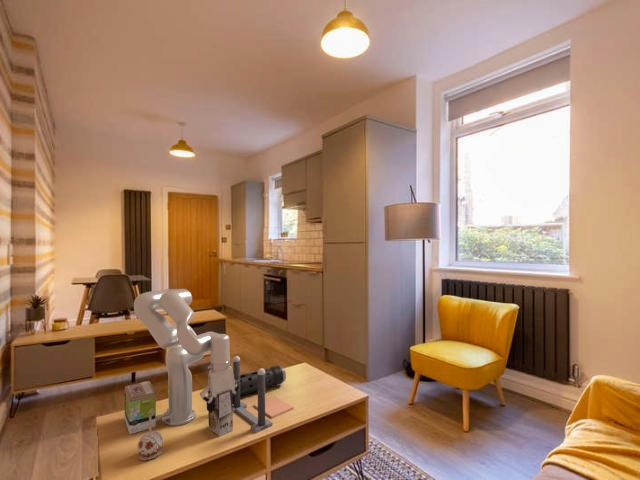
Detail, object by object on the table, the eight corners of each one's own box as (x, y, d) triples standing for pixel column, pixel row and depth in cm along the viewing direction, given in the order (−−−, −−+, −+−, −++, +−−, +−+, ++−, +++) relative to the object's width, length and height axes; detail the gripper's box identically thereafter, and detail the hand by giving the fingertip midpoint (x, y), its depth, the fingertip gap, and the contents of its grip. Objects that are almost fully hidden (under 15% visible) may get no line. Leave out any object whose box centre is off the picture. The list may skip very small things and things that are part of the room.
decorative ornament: (133, 460, 116) (132, 417, 116) (147, 447, 124) (147, 406, 124) (153, 462, 115) (152, 419, 115) (166, 449, 123) (166, 408, 123)
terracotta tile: (271, 418, 143) (271, 416, 143) (253, 406, 154) (253, 404, 154) (293, 408, 151) (293, 407, 152) (274, 397, 163) (274, 396, 163)
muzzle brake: (228, 394, 167) (228, 374, 167) (278, 381, 183) (278, 362, 183) (235, 402, 159) (235, 380, 159) (286, 387, 175) (286, 367, 175)
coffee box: (233, 430, 135) (233, 390, 135) (219, 436, 130) (218, 395, 130) (221, 421, 141) (221, 383, 141) (207, 428, 136) (207, 388, 136)
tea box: (156, 426, 138) (156, 391, 138) (129, 435, 132) (129, 398, 132) (149, 412, 150) (149, 379, 150) (124, 419, 144) (123, 385, 144)
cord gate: (255, 433, 132) (255, 372, 133) (226, 410, 151) (226, 357, 151) (272, 425, 138) (272, 367, 138) (242, 404, 156) (242, 353, 156)
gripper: (203, 373, 127) (204, 418, 127) (243, 362, 139) (244, 403, 138) (196, 368, 133) (196, 411, 132) (235, 358, 144) (236, 397, 144)
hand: (221, 407), depth 135 cm, fingers open, 9 cm apart
